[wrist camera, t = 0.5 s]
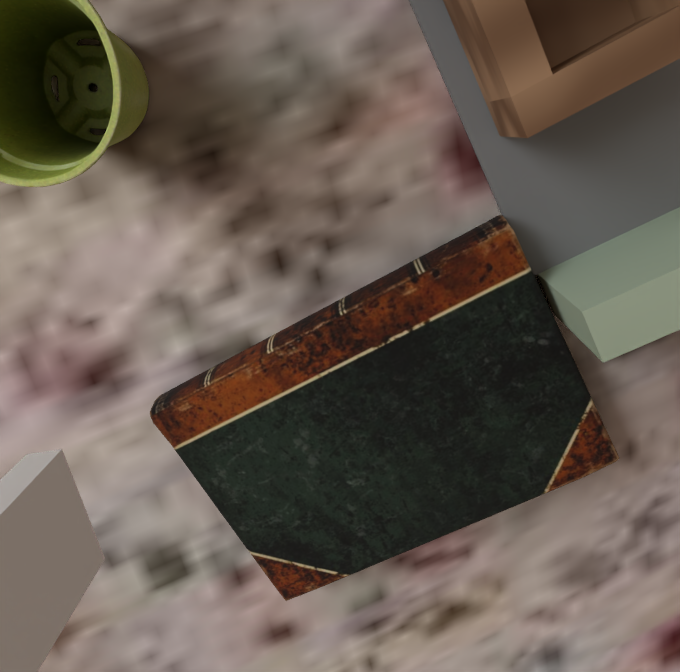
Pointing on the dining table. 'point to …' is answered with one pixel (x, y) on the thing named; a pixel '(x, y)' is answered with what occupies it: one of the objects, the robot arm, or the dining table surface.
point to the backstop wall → (621, 289)
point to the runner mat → (570, 155)
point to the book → (391, 415)
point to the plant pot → (62, 90)
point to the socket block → (560, 53)
